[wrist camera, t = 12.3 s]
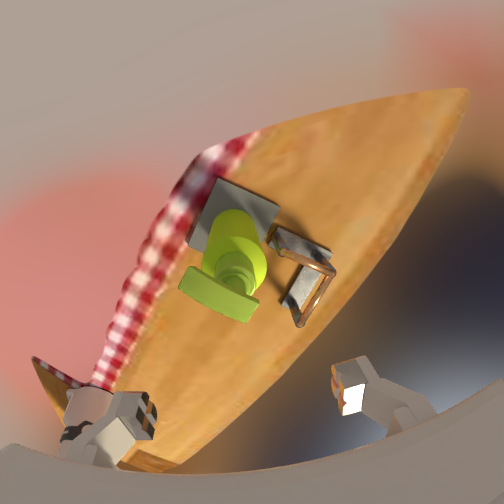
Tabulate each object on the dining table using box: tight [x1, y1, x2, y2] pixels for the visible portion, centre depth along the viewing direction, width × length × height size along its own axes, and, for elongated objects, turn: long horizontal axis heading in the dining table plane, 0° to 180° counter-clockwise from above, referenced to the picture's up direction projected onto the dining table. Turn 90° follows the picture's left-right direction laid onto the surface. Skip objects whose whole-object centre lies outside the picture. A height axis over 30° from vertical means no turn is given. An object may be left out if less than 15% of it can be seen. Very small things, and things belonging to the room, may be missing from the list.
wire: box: [268, 226, 336, 328], centre depth 38 cm, size 10×9×6 cm
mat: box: [188, 178, 280, 253], centre depth 38 cm, size 10×9×1 cm
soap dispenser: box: [178, 209, 267, 324], centre depth 28 cm, size 6×7×20 cm
